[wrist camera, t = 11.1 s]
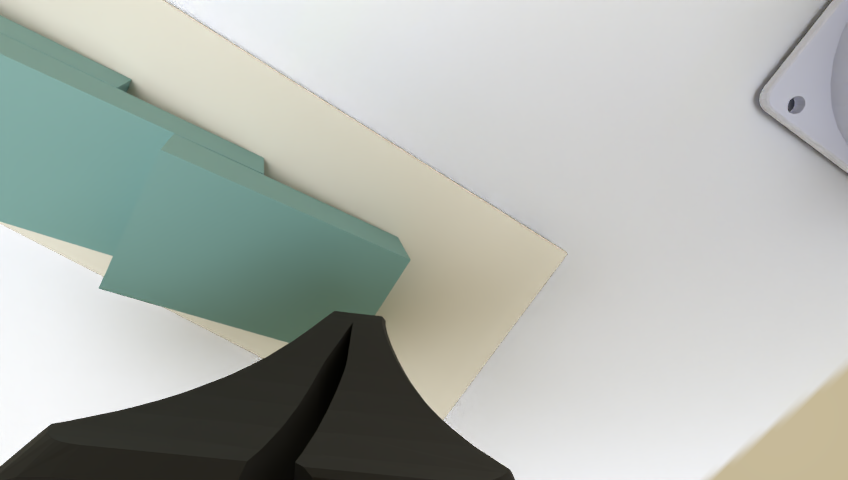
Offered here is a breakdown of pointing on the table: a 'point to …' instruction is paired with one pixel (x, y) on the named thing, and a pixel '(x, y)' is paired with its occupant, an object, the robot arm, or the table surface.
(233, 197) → the teal green rectangular block
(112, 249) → the tile
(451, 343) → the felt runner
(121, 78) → the teal rectangular block
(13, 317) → the table surface
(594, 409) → the table surface
